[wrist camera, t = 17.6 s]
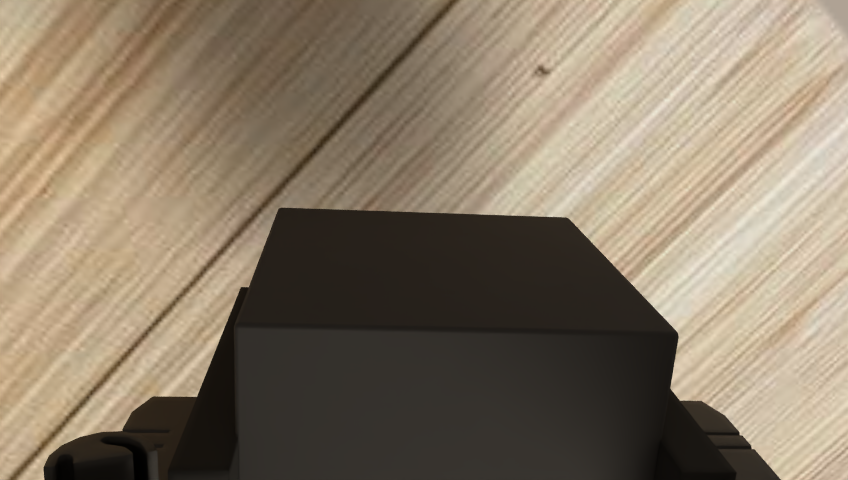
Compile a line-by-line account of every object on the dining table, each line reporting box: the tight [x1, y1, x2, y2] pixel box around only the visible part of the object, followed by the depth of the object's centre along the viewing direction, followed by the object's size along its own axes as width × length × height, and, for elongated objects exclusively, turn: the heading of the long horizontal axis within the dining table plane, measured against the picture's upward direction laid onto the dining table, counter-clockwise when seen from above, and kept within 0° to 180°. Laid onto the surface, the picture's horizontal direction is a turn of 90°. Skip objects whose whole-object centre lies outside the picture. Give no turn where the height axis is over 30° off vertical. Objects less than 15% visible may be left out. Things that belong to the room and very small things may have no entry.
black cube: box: [234, 208, 678, 480], centre depth 14 cm, size 6×6×6 cm
